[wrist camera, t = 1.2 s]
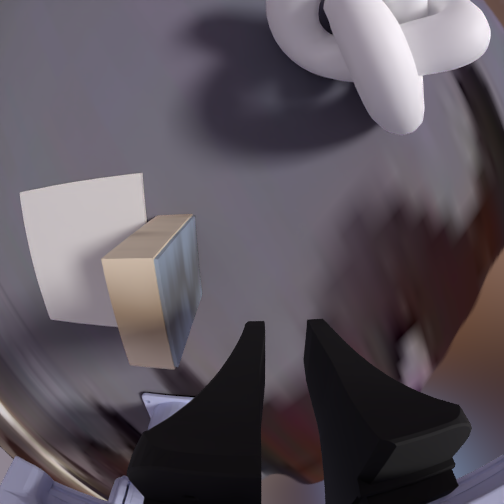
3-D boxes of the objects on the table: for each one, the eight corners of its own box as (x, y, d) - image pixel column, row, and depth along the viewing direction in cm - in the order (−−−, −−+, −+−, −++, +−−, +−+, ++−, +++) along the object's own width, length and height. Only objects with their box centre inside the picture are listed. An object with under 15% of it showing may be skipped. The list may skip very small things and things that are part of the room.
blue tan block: (202, 295, 21) (178, 369, 13) (167, 294, 21) (130, 365, 13) (195, 213, 19) (156, 257, 11) (156, 215, 19) (101, 258, 11)
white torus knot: (363, -36, 12) (407, -96, 3) (457, 85, 15) (539, 74, 7) (242, 17, 14) (233, -63, 6) (354, 155, 17) (428, 165, 9)
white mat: (164, 327, 22) (163, 329, 22) (52, 317, 22) (50, 319, 22) (142, 172, 18) (140, 173, 18) (21, 191, 18) (19, 192, 18)
